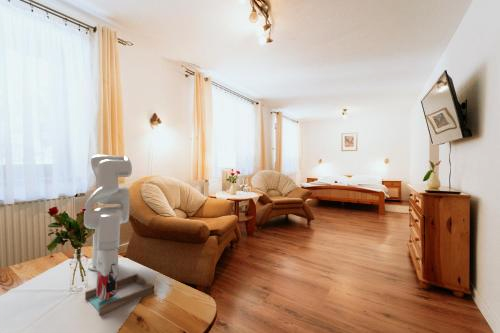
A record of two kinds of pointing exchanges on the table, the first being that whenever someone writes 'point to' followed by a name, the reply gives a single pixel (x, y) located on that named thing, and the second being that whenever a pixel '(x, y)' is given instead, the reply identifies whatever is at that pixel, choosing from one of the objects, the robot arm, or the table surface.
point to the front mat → (101, 301)
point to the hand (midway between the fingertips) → (106, 287)
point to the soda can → (104, 287)
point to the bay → (126, 299)
